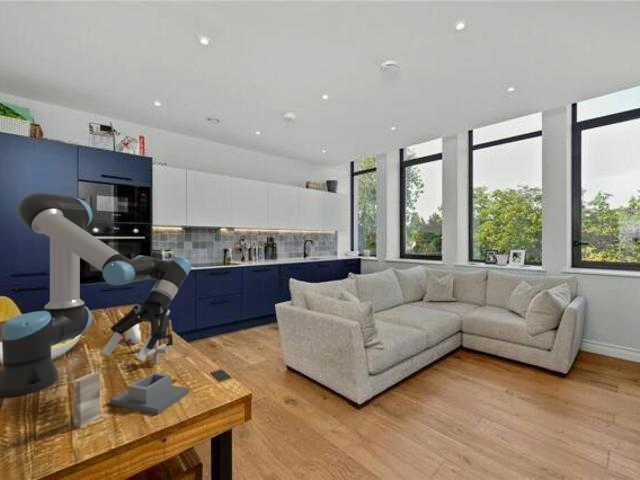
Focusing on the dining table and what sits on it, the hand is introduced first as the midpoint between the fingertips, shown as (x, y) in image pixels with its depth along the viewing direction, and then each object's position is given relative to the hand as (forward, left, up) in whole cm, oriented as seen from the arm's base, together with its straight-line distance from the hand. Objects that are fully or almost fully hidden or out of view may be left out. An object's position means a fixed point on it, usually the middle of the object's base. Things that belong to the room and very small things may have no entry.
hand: (121, 356), depth 90 cm
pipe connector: (-2, +28, -14) cm, 32 cm away
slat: (-5, -9, -14) cm, 17 cm away
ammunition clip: (-7, +45, -14) cm, 48 cm away
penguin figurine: (-22, +55, -14) cm, 61 cm away
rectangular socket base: (+7, +1, -14) cm, 16 cm away
